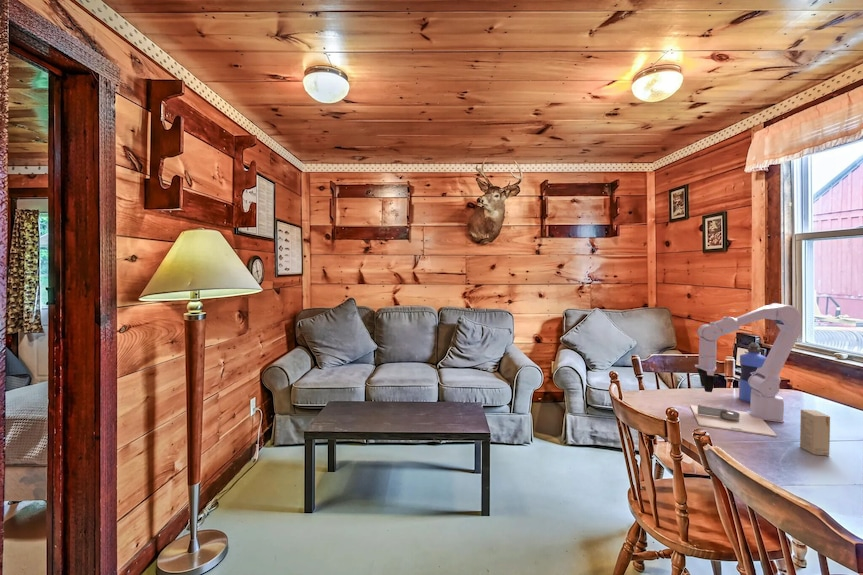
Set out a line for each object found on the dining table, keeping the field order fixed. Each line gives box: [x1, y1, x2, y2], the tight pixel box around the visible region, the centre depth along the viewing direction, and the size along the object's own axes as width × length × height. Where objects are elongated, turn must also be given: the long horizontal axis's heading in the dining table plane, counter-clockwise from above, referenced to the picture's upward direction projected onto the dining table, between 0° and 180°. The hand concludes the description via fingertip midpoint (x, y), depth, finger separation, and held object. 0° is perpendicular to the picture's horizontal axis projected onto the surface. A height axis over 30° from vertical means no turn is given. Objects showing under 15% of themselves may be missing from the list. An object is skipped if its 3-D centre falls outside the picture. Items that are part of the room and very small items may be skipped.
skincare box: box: [799, 409, 831, 456], centre depth 123 cm, size 6×4×12 cm
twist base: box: [690, 404, 777, 438], centre depth 149 cm, size 22×22×1 cm
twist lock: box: [697, 404, 740, 421], centre depth 150 cm, size 13×6×3 cm, turn 64°
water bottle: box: [738, 342, 767, 404], centre depth 170 cm, size 9×9×25 cm
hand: (706, 389), depth 156 cm, fingers open, 7 cm apart
